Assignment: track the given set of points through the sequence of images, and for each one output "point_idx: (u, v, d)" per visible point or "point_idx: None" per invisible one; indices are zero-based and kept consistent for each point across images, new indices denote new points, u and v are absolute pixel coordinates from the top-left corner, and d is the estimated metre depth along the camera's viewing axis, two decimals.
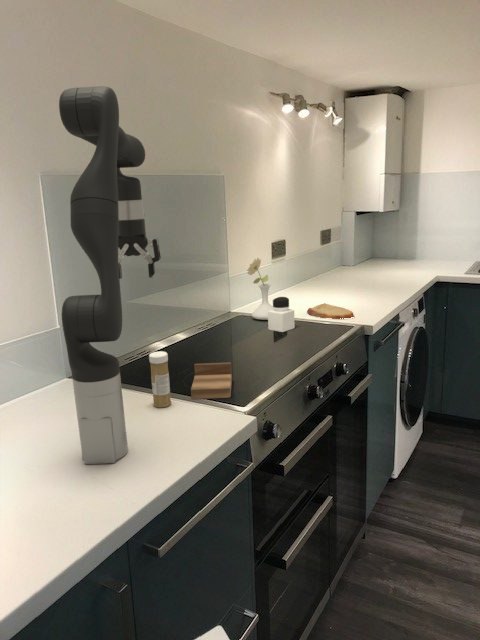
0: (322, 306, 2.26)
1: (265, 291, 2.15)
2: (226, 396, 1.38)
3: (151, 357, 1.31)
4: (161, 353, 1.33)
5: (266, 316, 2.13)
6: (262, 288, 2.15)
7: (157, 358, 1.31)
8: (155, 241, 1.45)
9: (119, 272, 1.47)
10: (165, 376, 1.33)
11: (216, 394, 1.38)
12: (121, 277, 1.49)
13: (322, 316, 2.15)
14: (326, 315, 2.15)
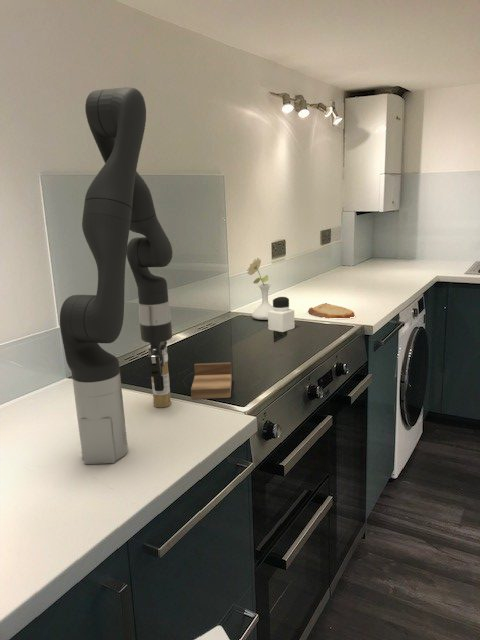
0: (323, 306, 2.27)
1: (265, 291, 2.15)
2: (226, 396, 1.38)
3: None
4: None
5: (266, 316, 2.13)
6: (262, 288, 2.15)
7: None
8: (166, 343, 1.39)
9: (163, 383, 1.32)
10: (165, 376, 1.33)
11: (216, 394, 1.38)
12: None
13: (323, 316, 2.16)
14: (327, 315, 2.15)
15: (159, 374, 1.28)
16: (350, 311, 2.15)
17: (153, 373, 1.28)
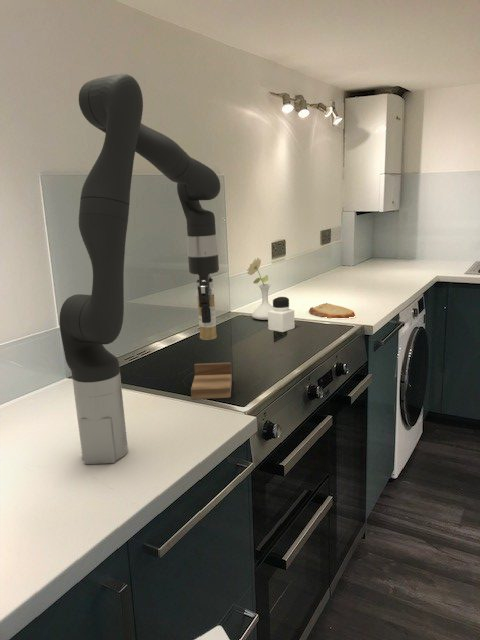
0: (324, 306, 2.27)
1: (265, 291, 2.15)
2: (226, 396, 1.38)
3: None
4: None
5: (266, 316, 2.13)
6: (262, 288, 2.15)
7: None
8: (211, 279, 1.43)
9: (210, 315, 1.36)
10: (212, 309, 1.37)
11: (216, 394, 1.38)
12: None
13: (323, 315, 2.16)
14: (327, 314, 2.15)
15: (208, 305, 1.32)
16: (350, 311, 2.15)
17: (202, 304, 1.32)
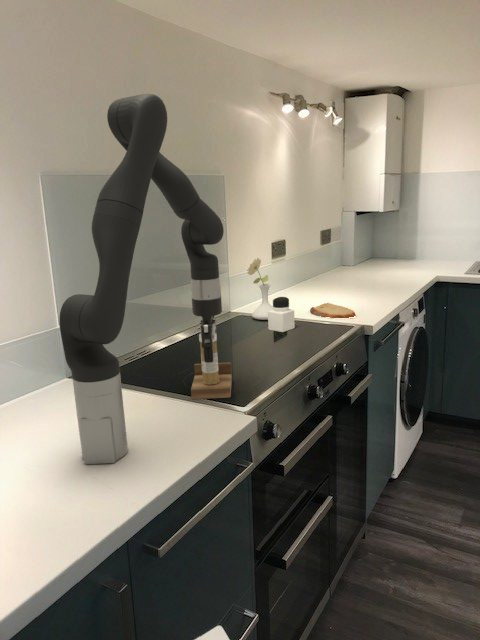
0: (325, 305, 2.27)
1: (265, 291, 2.15)
2: (226, 396, 1.38)
3: None
4: None
5: (266, 316, 2.13)
6: (262, 288, 2.15)
7: None
8: None
9: None
10: (215, 355, 1.39)
11: (216, 394, 1.38)
12: None
13: (324, 315, 2.17)
14: (328, 314, 2.16)
15: (210, 344, 1.33)
16: (351, 311, 2.15)
17: (204, 344, 1.33)
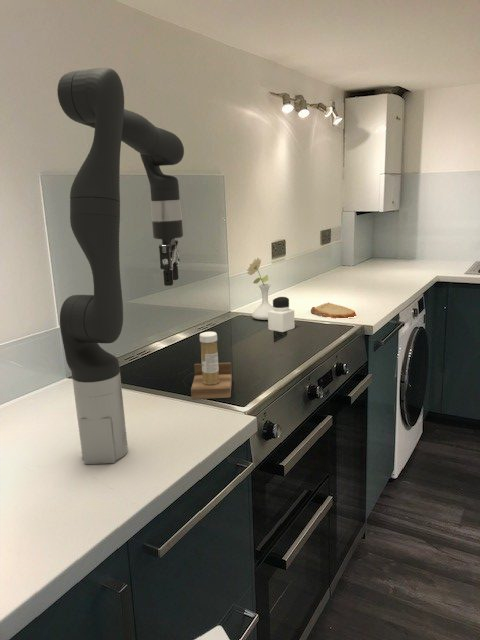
0: (326, 305, 2.27)
1: (265, 291, 2.15)
2: (226, 396, 1.38)
3: (202, 336, 1.38)
4: (211, 333, 1.39)
5: (266, 316, 2.13)
6: (262, 288, 2.15)
7: (208, 337, 1.37)
8: (177, 242, 1.44)
9: (173, 278, 1.36)
10: (215, 355, 1.39)
11: (216, 394, 1.38)
12: None
13: (324, 315, 2.17)
14: (328, 314, 2.16)
15: (168, 265, 1.32)
16: (351, 311, 2.16)
17: (163, 264, 1.32)
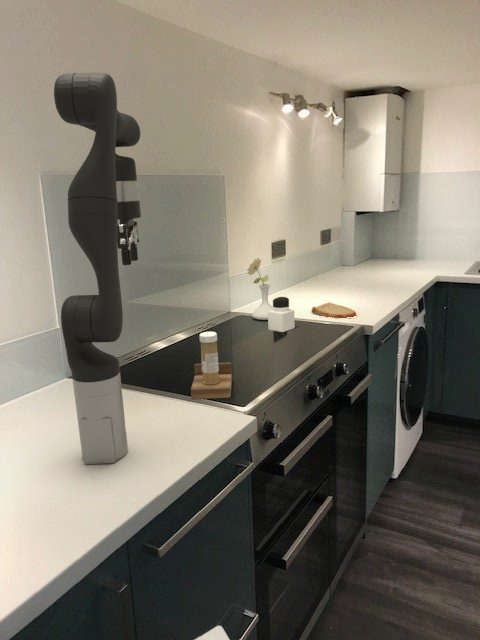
0: (327, 305, 2.28)
1: (265, 291, 2.15)
2: (226, 396, 1.38)
3: (202, 336, 1.38)
4: (211, 333, 1.39)
5: (266, 316, 2.13)
6: (262, 288, 2.15)
7: (208, 337, 1.37)
8: (136, 223, 1.46)
9: (131, 257, 1.38)
10: (215, 355, 1.39)
11: (216, 394, 1.38)
12: None
13: (324, 315, 2.17)
14: (328, 314, 2.16)
15: (126, 244, 1.34)
16: (352, 311, 2.16)
17: (120, 244, 1.35)
